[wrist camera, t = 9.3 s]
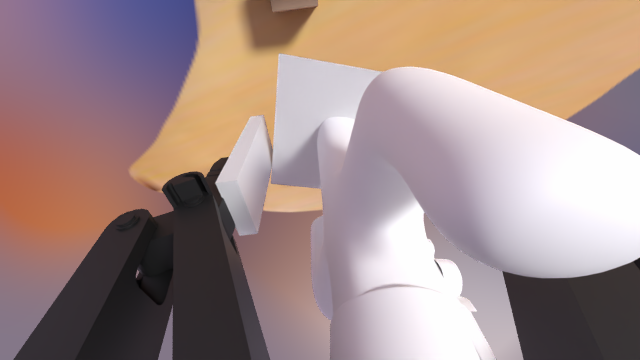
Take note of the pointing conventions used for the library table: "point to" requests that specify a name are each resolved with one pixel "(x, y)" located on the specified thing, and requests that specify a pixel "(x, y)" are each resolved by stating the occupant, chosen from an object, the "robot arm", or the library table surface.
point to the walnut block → (292, 5)
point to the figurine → (440, 200)
